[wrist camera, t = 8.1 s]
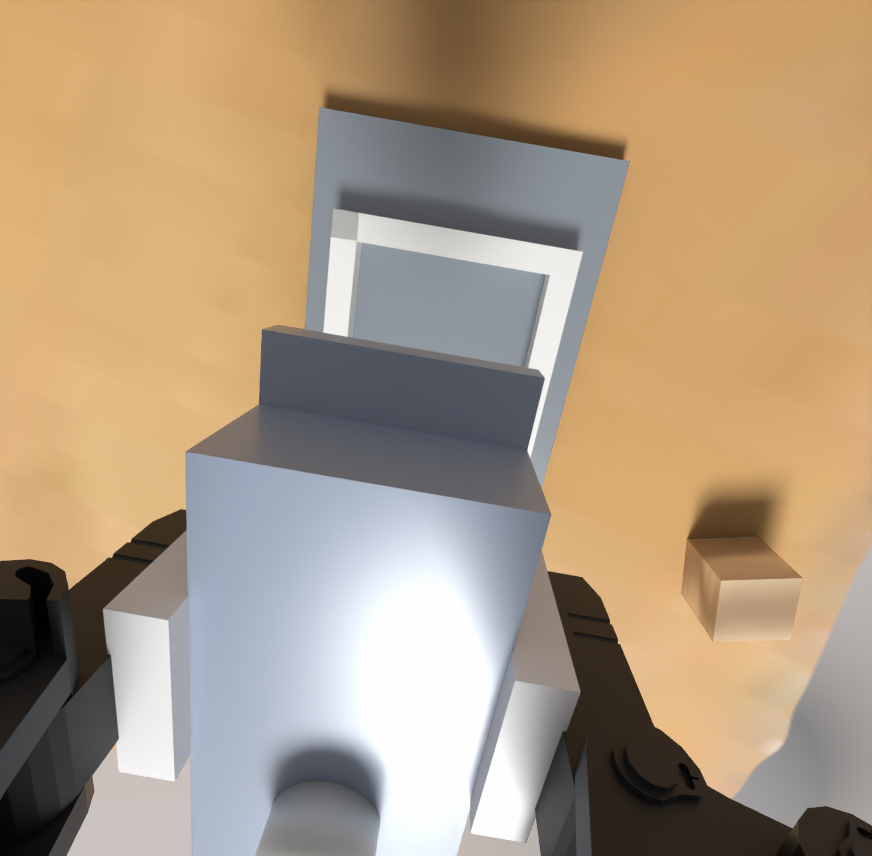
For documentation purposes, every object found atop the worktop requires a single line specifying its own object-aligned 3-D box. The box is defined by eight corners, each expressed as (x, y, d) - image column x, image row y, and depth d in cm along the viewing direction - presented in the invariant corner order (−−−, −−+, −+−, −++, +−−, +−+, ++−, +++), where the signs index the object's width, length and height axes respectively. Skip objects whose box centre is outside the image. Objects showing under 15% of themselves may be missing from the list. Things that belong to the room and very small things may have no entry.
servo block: (342, 307, 11) (129, 365, 4) (511, 335, 11) (600, 448, 4) (313, 620, 14) (162, 973, 7) (445, 643, 14) (429, 1017, 7)
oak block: (686, 538, 28) (721, 580, 24) (756, 535, 27) (802, 578, 24) (680, 592, 29) (712, 641, 25) (747, 590, 29) (790, 639, 25)
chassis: (325, 114, 21) (310, 97, 19) (622, 165, 21) (639, 154, 19) (297, 520, 29) (284, 540, 27) (517, 559, 29) (521, 582, 27)
